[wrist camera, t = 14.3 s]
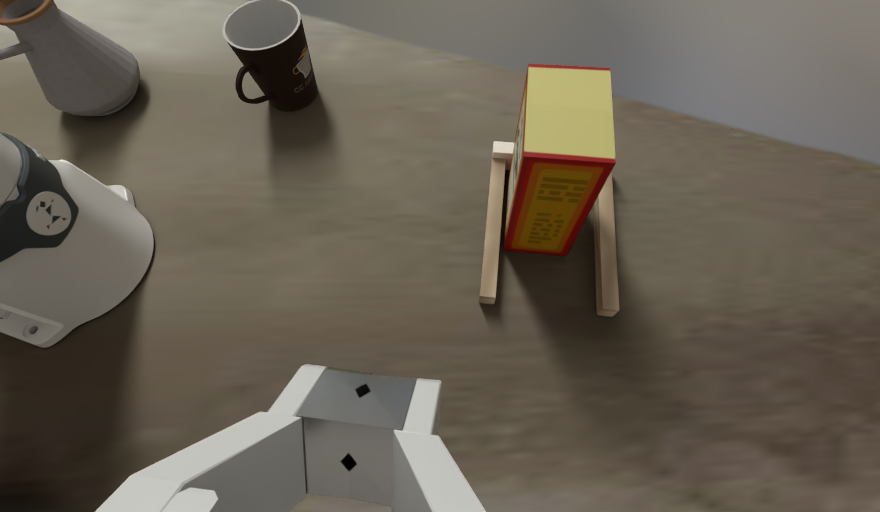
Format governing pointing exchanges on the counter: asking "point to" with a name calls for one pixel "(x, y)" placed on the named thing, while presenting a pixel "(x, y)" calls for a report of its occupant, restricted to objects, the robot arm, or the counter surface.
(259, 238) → the counter surface
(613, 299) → the slot rack
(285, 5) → the coffee mug
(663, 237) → the counter surface
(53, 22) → the coffee pot
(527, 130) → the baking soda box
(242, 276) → the counter surface
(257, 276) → the counter surface
